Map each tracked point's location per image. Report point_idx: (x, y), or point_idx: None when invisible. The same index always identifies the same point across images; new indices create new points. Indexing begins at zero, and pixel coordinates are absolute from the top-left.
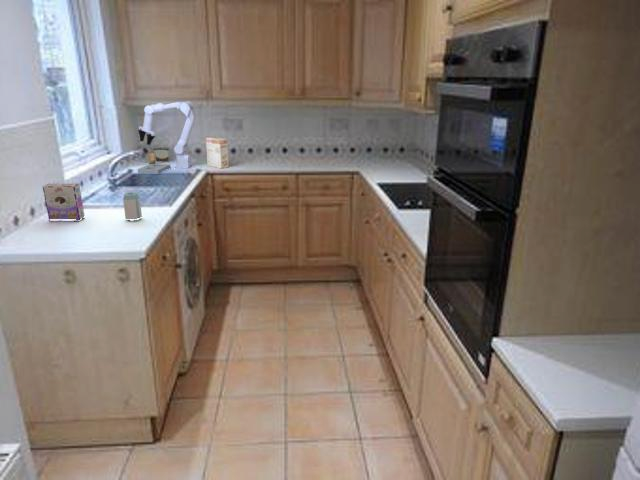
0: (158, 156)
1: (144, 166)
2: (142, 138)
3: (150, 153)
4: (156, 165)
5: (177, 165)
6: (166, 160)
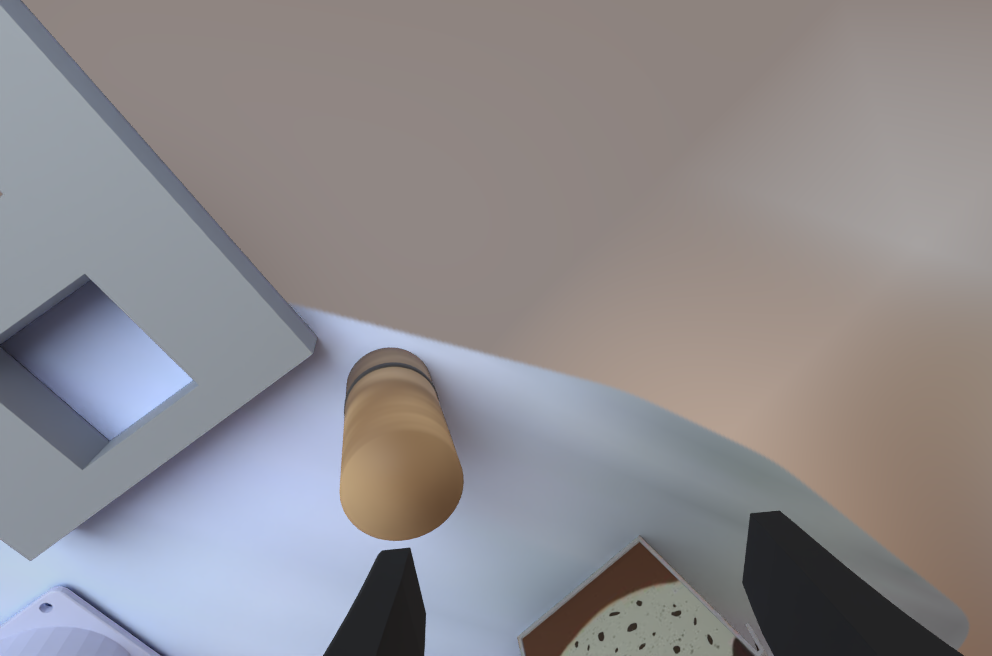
0: (643, 606)
1: (131, 162)
2: (796, 636)
3: (392, 470)
4: (186, 390)
5: (37, 642)
6: (543, 634)
